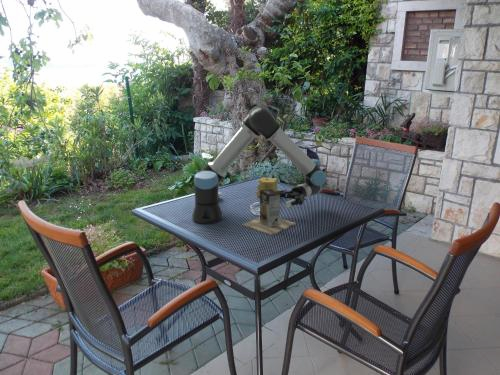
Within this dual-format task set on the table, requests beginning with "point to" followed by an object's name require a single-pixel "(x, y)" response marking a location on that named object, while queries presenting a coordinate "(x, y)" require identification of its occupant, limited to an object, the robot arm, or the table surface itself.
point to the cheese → (266, 184)
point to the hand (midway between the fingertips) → (275, 202)
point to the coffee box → (269, 207)
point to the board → (261, 227)
